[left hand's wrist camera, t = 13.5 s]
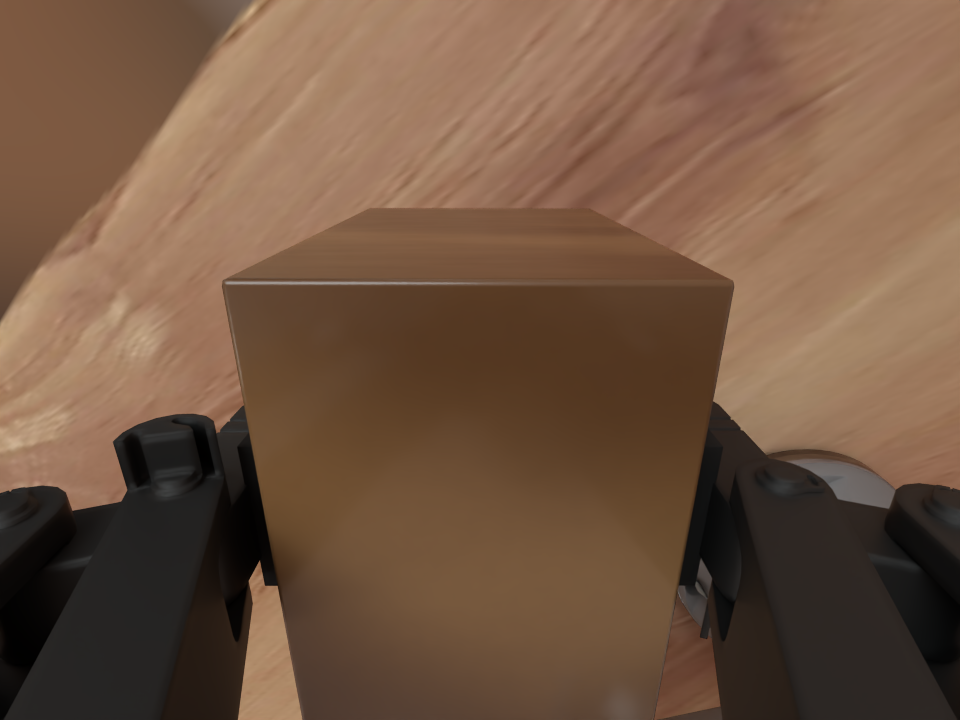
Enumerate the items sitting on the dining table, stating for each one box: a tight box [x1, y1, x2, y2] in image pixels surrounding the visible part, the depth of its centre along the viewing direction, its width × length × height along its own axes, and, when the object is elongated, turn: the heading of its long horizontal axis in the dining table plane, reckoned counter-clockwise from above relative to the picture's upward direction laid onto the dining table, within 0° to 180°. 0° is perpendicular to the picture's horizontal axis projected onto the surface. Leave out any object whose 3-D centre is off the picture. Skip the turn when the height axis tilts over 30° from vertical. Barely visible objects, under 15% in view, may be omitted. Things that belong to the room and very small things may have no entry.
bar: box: [222, 208, 734, 720], centre depth 14 cm, size 23×6×8 cm, turn 0°
